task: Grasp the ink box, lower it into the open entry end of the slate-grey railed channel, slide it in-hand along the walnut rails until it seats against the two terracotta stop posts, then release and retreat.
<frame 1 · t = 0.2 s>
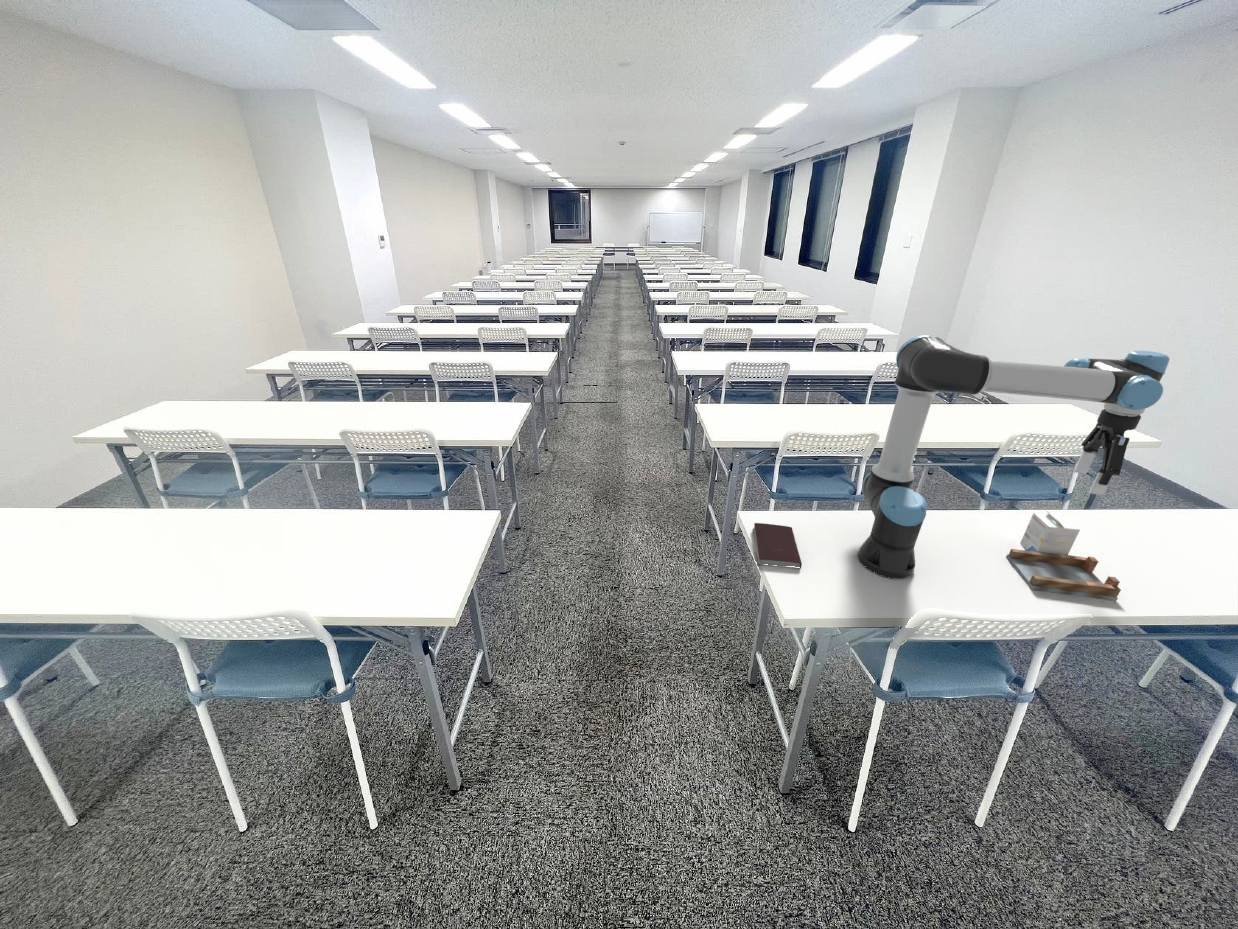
hand: (1087, 482, 134), 27 cm above the table, fingers open, 13 cm apart
book: (774, 550, 151), on the table
ink box: (1041, 552, 149), on the table
rail board: (1057, 577, 138), on the table
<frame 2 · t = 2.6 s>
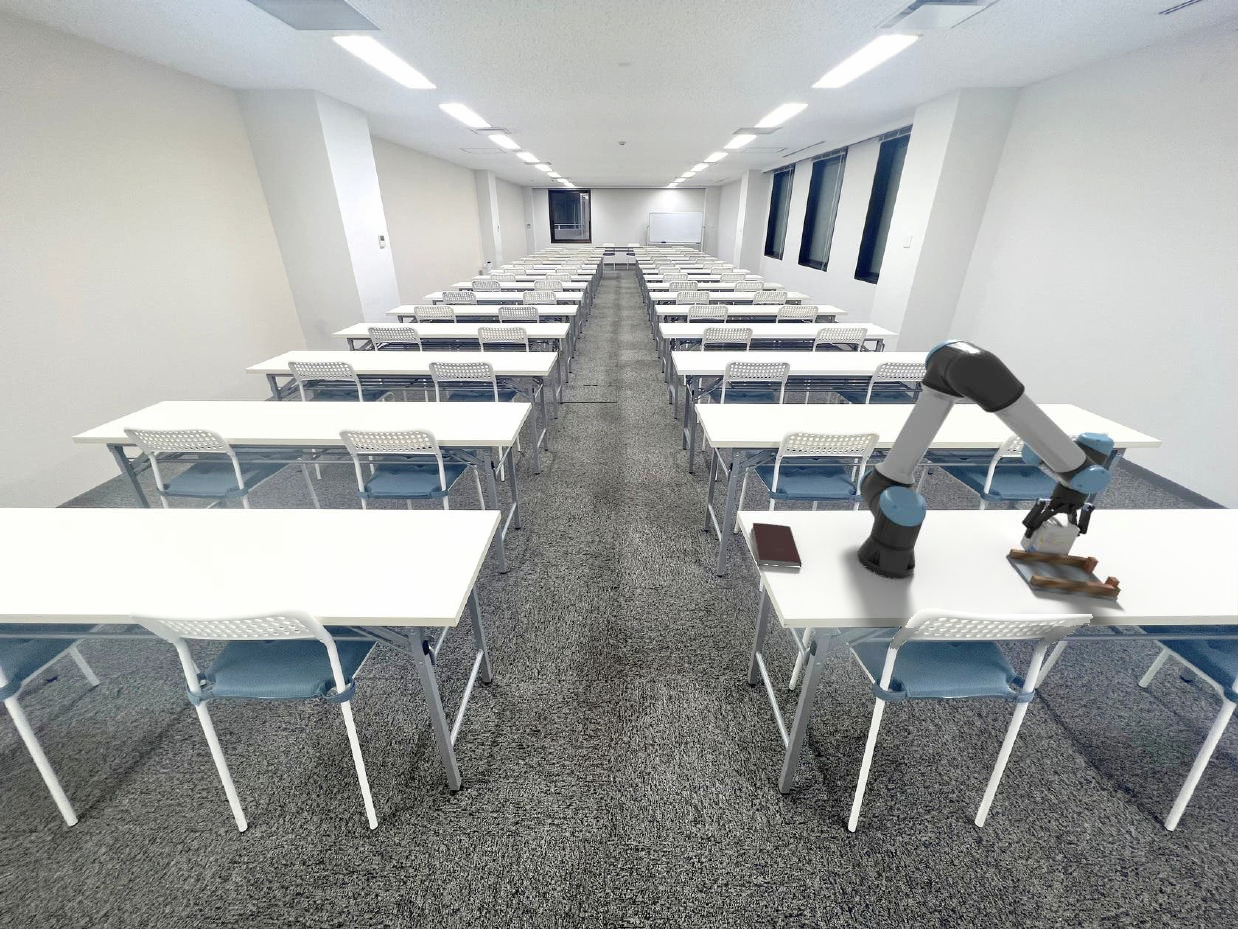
hand: (1043, 548, 148), 1 cm above the table, fingers closed on ink box, 8 cm apart
ink box: (1041, 552, 149), on the table, touching gripper
everything else where it was.
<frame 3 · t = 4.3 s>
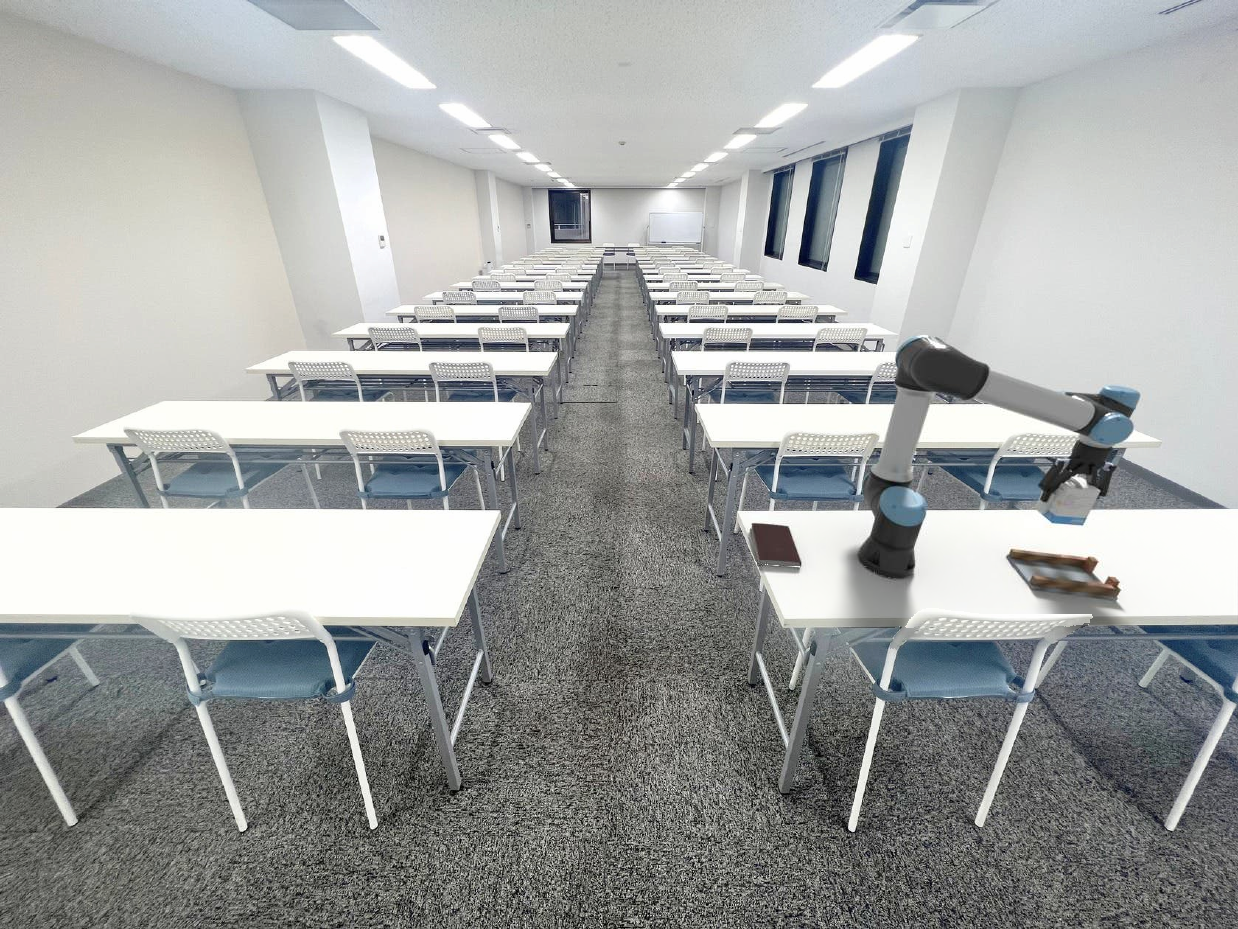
hand: (1059, 512, 140), 16 cm above the table, fingers closed on ink box, 8 cm apart
ink box: (1057, 517, 140), point 14 cm above the table, touching gripper
everything else where it was.
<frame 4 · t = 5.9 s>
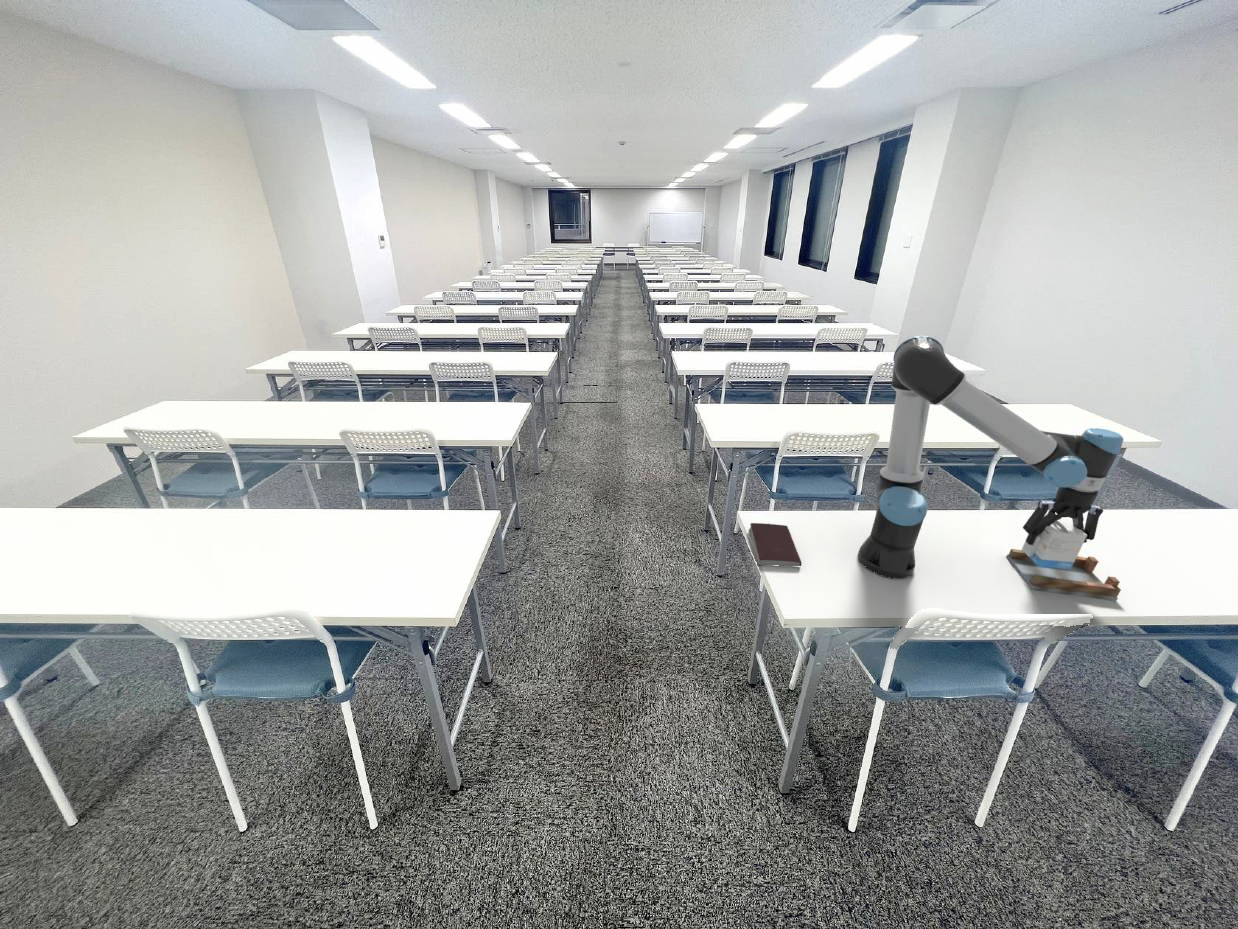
hand: (1046, 555, 136), 7 cm above the table, fingers closed on ink box, 8 cm apart
ink box: (1044, 559, 136), point 6 cm above the table, touching gripper
everything else where it was.
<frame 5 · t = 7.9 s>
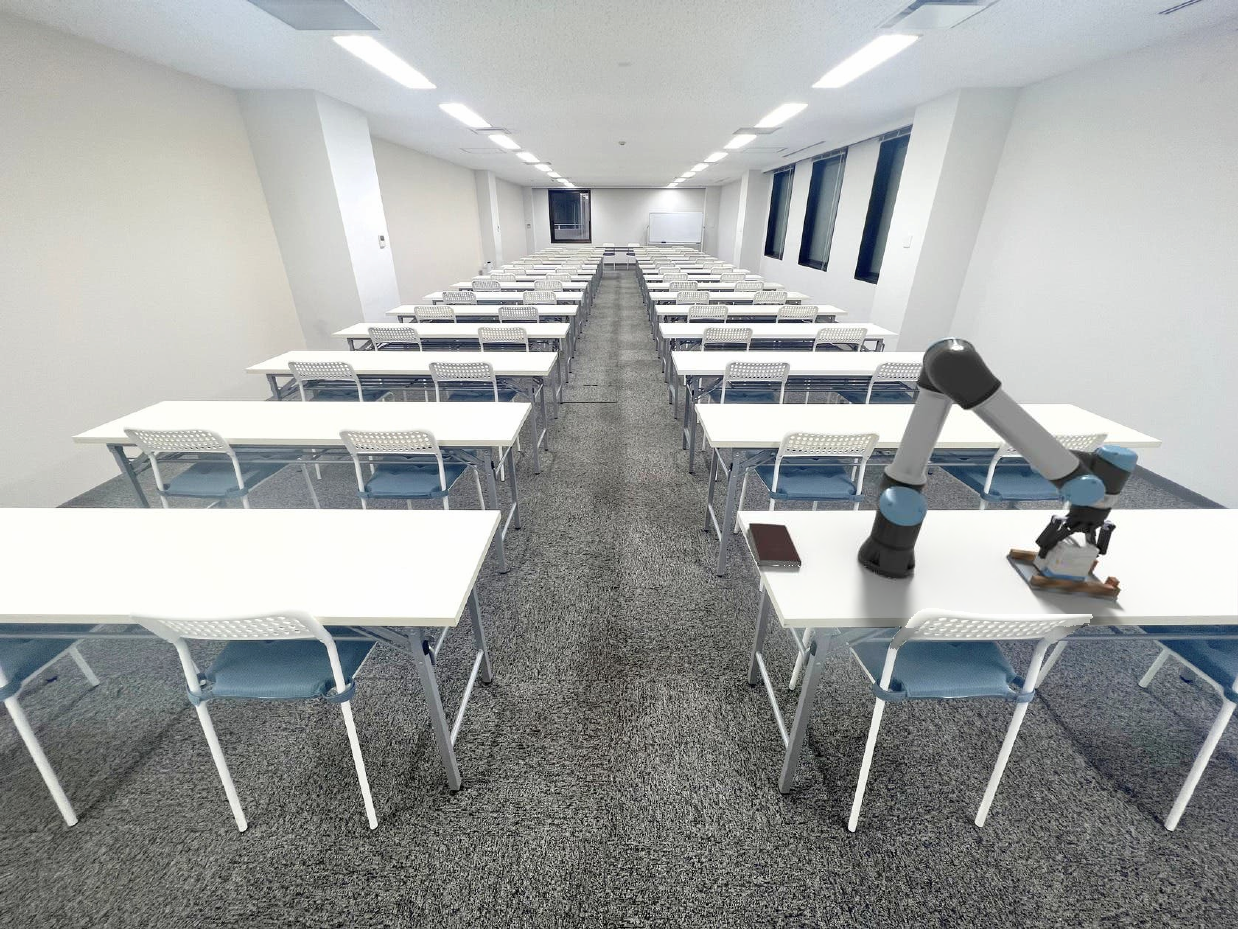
hand: (1058, 569, 137), 3 cm above the table, fingers closed on ink box, 8 cm apart
ink box: (1056, 573, 137), point 1 cm above the table, touching gripper
everything else where it was.
when the fingers open (3 cm above the table, at t = 9.5 s): ink box stays where it is, resting on rail board.
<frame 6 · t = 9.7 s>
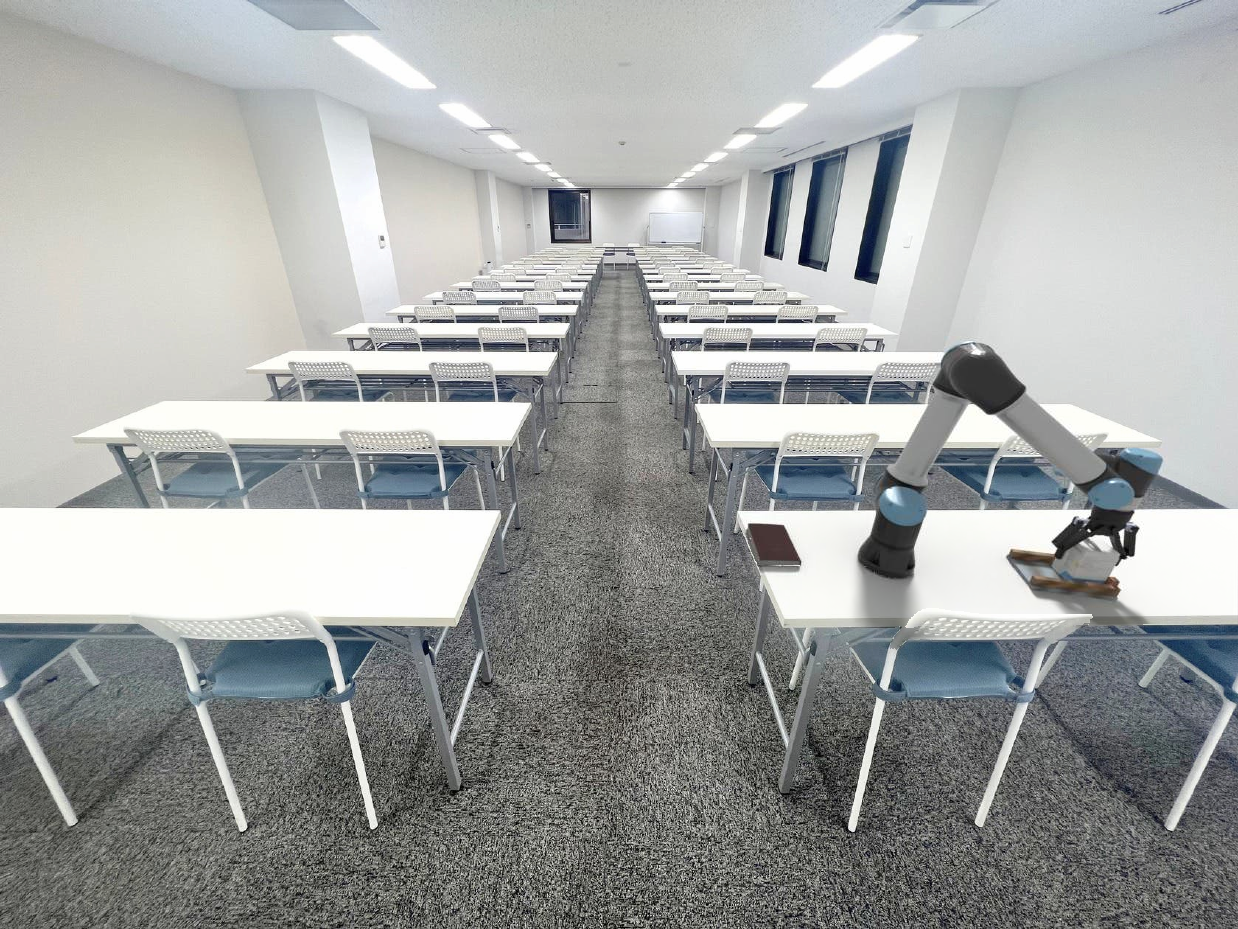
hand: (1079, 570, 135), 3 cm above the table, fingers open, 11 cm apart
ink box: (1075, 577, 136), point 1 cm above the table, touching rail board
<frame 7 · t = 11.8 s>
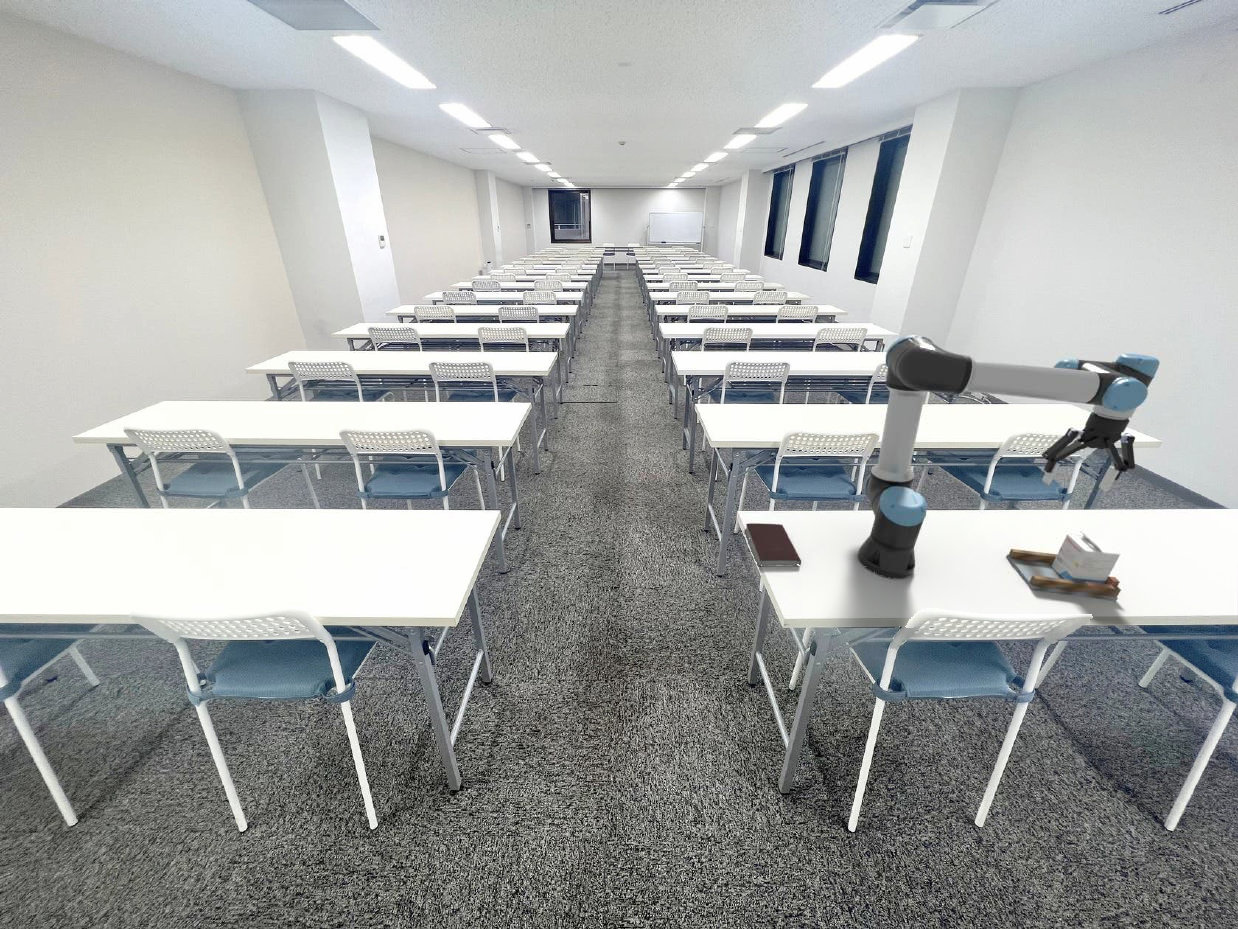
hand: (1074, 485, 133), 26 cm above the table, fingers open, 13 cm apart
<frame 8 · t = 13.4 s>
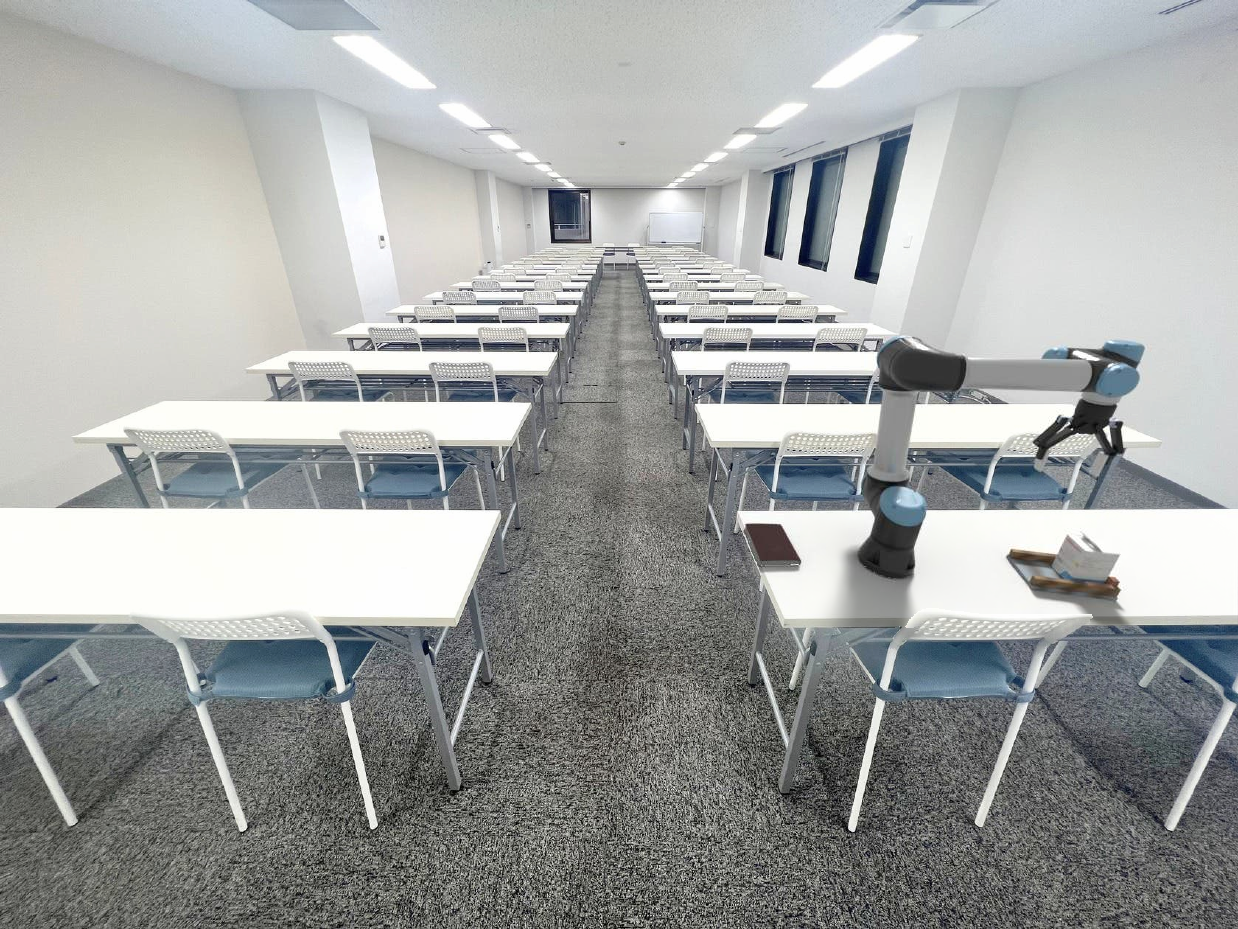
hand: (1065, 472, 135), 29 cm above the table, fingers open, 13 cm apart
at the end: ink box 0.5 cm from the target spot, point 0.8 cm above the table; ink box tilted 0°; the gripper is holding nothing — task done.
